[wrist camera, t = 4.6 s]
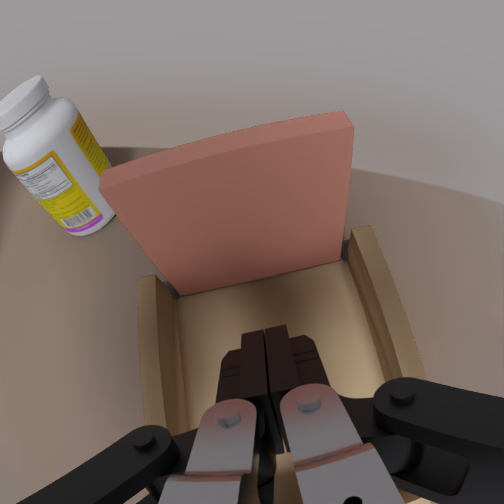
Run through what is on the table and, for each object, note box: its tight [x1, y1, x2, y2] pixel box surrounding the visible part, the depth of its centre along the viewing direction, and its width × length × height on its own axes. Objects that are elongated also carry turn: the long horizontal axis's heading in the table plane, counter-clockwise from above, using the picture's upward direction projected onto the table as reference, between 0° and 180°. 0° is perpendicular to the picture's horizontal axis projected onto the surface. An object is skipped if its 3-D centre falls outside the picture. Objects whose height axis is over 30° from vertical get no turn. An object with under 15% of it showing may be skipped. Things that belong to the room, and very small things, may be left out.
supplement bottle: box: [0, 75, 115, 236], centre depth 21 cm, size 7×7×13 cm
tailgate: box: [98, 111, 354, 296], centre depth 14 cm, size 9×1×9 cm, turn 100°
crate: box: [138, 225, 438, 504], centre depth 14 cm, size 12×15×4 cm
